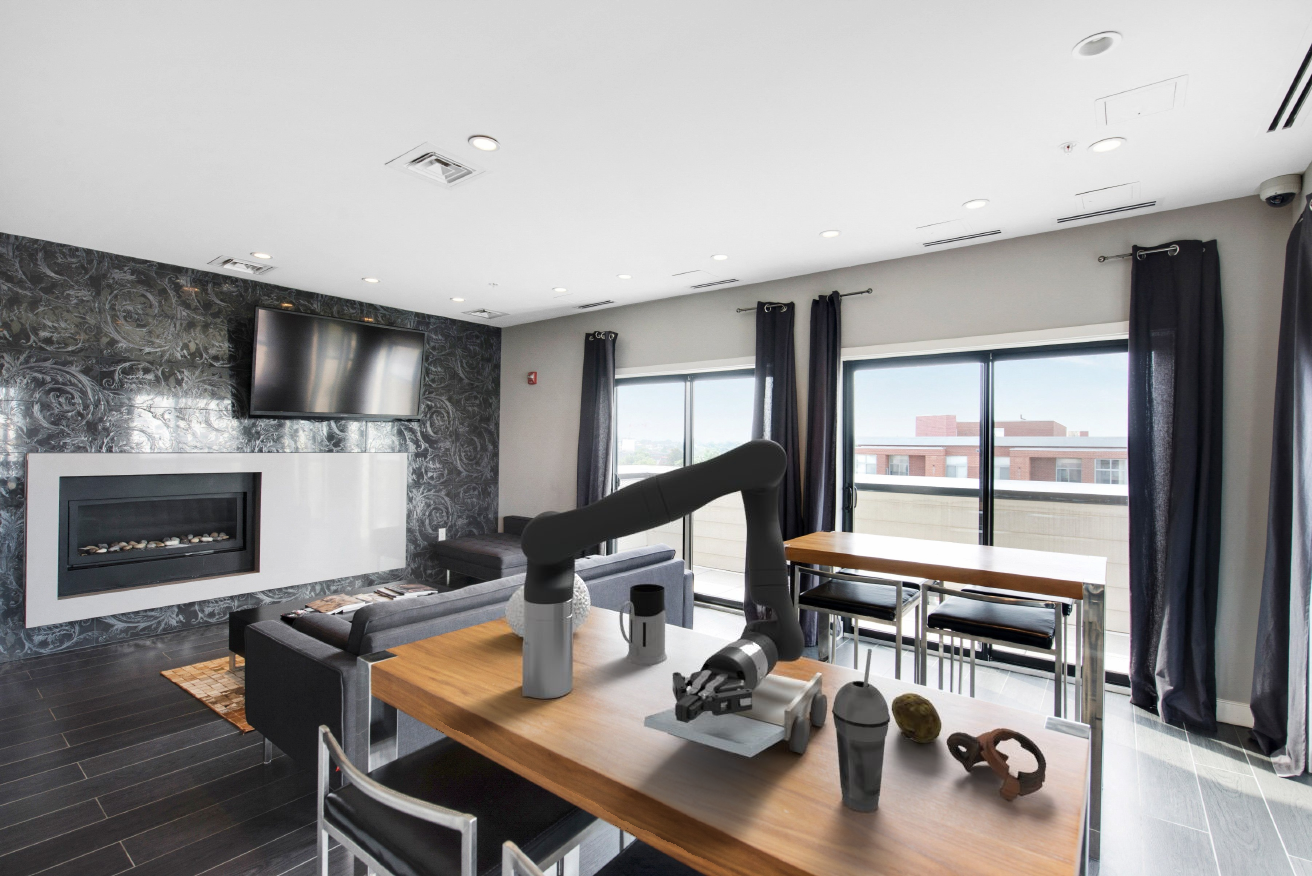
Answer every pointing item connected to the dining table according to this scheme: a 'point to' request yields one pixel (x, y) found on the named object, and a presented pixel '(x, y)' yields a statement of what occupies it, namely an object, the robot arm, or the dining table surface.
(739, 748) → the panel
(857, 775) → the beverage cup
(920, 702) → the potato
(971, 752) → the brown curved piece
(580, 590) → the cauliflower
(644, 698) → the dining table surface
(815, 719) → the flatbed cart
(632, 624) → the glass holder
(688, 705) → the robot arm
